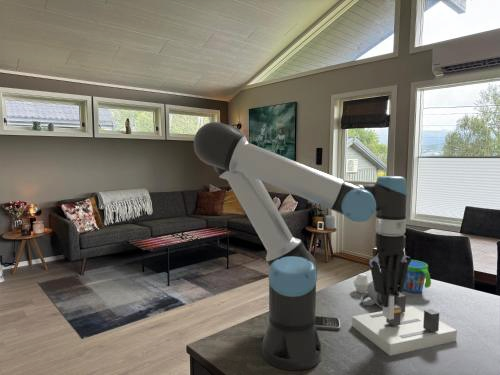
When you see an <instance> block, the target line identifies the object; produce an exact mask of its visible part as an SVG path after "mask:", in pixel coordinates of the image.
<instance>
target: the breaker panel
mask: <svg viewBox="0 0 500 375" xmlns="http://www.w3.org/2000/svg"><path fill="white" fill-rule="evenodd" d="M351 323H352V324H351V326H352V328H354V329H355V330H356V331H358V332H359V333H360V334H361V335H363V336H364V337H365V338H367V339H368V340H369V341H370V342H371V343H373V344H374V345H375V346H377V347H378V348H380V349H381V350H382V351H383V352H385V353H386V354H387V355H388V356H394V355H399V354H403V353H409V352H413V351H416V350H421V349H427V348H430V347H431V348H432V347H435V346H440V345H443V344H444V345H445V344H449V343H453V342H457V337H458V336H457V334H458V332H457V331H458V330H457V329H455V328H453V327H452V326H449V325H448V324H446V323H445V322H443V321H440V320H439V329H438V331H436V332H432V333H431V332H429V331H428V330H426V329H424V328H423V324H424V311H422V310H420V309H418V308H417V307H414V306H412V305H411V306H405V312H402V313H401V317H400V325H397V326H392V325H390V324H389V323H387V322H386V317H384V316H383V310H381V311H377V312H370V313H364V314H359V315H352V318H351Z"/></svg>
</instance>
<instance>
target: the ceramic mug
mask: <svg viewBox="0 0 500 375" xmlns="http://www.w3.org/2000/svg"><path fill="white" fill-rule="evenodd" d="M368 298H370V299H369V300H367V301H365V300H366V299H368ZM360 303H361V304H362V305H363V306H372V305H375V304H376V305H377V306H378V307H380V308H381V309H383V306H382V305H381V294H379V293H377V292H376V291H375V289H374V283H373V280H372V281H370V283H369V285H368V287H367V292H366V293H363V294H362V295H361V297H360Z"/></svg>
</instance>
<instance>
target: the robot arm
mask: <svg viewBox="0 0 500 375" xmlns="http://www.w3.org/2000/svg"><path fill="white" fill-rule="evenodd" d="M193 150H194V153H195V155H196V156H197V157H198V159H199V161H202V162H203V163H204V164H207V165H209V166H212V167H213V168H214V170H215V171H216V173H217V175H218V177H219V179H224V180H226V181H227V182H228V184H229V185H230V188H231V190H232V192H234V194H235V196H236V198H237V200H238V202H239V204H240V206H241V207H242V209H243V211H244V212H245V215H246V216H247V217H248V220H249V221H250V223H251V225H252V227H253V228H254V230H255V233H256V234H257V235H258V236H257V237H259V239H260V241H261V242H262V245H263V247H264V248H265V250H266V257H265V260H266V262H267V264H268V266H269V272H268V276H267V278H268V283H269V284H268V324H267V327H266V329H265V333H264V336H263V339H262V342H261V354H262V357H263V358H264V360H265V362H267V363H268V364H270V365H272V366H274V367H276V368H278V369H282V370H287V371H305V370H308V369H312V368H313V367H316V366H317V365H318V364H319V363H320V362H321V360H322V357H323V347H322V342H321V340H320V339H321V338H320V337H319V333H318V329H317V328H316V326H315V316H316V302H317V301H316V299H317V298H316V297H317V295H316V294H317V282H318V281H317V280H318V276H317V275H318V265H317V262H316V259H315V257H314V256H313V254H311V252H310V251H308V250H307V249H306V246H305V245H304V243H303V241H302V240H301V239H300V238H296V237H294V236H293V235H292V233H291V231H290V229H289V227H288V225H287V224H286V223H285V220H284V219H283V217H282V215H281V213H280V211H279V209H278V208H277V206H276V204H275V202H274V201H273V199H272V197H271V196H270V194H269V192H268V190H267V189H266V186H265V185H264V183H267V184H269V185H270V186H271V185H272V186H274V187H276V188H278V189H281V190H284V191H285V192H289V193H291V194H293V195H296V196H298V197H301V198H302V199H305V200H308V201H311V202H312V203H315V204H317V205H319V206H323V207H325V208H327V209H330V210H331V211H334V212H336V213H338V214H341V215H343V216H345V217H346V218H347V219H348V220H350V221H352V222H357V223H361V222H362V223H363V222H366V221H369V220H370V219H371V218H372V217H373V216H374V215H375V231H376V233H375V239H374V240H375V241H374V242H375V243H374V244H375V247H376V251H375V253H374V257H373V258H372V259H370V258H369V259H367V264H368V266H369V268H370V273H371V278H372V281H373V283H374V289H375V291H376V292H377V293H379V294H381V305H382V306H383V308H382V311H383V316H384V317H386V318H387V319H389V320H391V319H394V306H395V305H396V296H399V293H402V292H403V291H404V290H403V287H404V283H405V278H406V274H407V269H408V265H409V264H410V262H411V260H412V257H410V256H407V255H406V254H405V251H404V250H405V248H406V235H405V233H406V229H407V228H406V225H407V224H406V223H407V196H408V190H407V185H408V184H407V180H406V178H405V177H404V176H400V175H399V176H397V175H394V176H393V175H385V176H383V175H382V176H381V175H379V176H378V177H377V179H376V181H375V183H350V182H348V181H345V180H343V179H341V178H337V177H335V176H332V175H330V174H328V173H325V172H323V171H320V170H317V169H315V168H312V167H309V166H308V165H305V164H302V163H300V162H298V161H295V160H293V159H290V158H289V157H285V156H283V155H280V154H278V153H276V152H274V151H270V150H268V149H265V148H262V147H260V146H257V145H255V144H253V143H251V142H249V141H248V139H247V137H246V135H245V134H244V132H242V131H241V130H240V129H239V128H238V127H236V126H234V125H231V124H225V123H222V122H218V121H212V122H208V123H205V124H204V125H202V126H201V127H199V129H197V131H196V133H195V135H194V137H193Z"/></svg>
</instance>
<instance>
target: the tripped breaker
mask: <svg viewBox="0 0 500 375" xmlns="http://www.w3.org/2000/svg"><path fill="white" fill-rule="evenodd" d="M400 317H401V307H399V306H397V305H395V306H394V319H391V320H389V319H387V318H386V322H387V323H389V324H390V325H392V326H397V325H400Z"/></svg>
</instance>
